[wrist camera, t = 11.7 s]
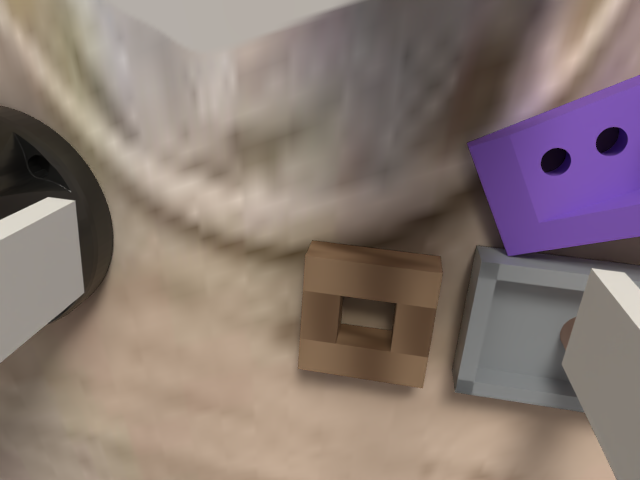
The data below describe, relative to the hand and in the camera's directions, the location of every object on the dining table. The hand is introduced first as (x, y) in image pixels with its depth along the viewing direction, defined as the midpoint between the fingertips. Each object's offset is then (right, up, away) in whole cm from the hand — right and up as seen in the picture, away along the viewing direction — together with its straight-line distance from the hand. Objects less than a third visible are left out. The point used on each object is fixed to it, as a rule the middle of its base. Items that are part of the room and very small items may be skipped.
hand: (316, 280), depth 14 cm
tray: (+16, -4, +19) cm, 25 cm away
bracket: (+15, +6, +16) cm, 23 cm away
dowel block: (+3, -3, +21) cm, 21 cm away
